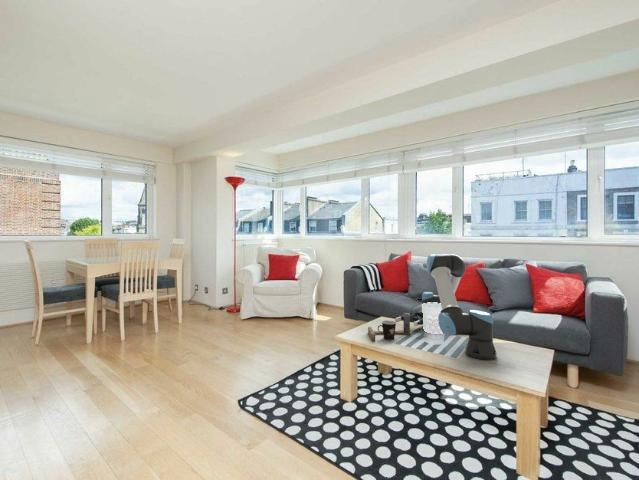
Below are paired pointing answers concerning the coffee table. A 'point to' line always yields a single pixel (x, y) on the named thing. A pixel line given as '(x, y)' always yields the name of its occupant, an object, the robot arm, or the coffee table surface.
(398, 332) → the brown uneven shapes
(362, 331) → the coffee table surface
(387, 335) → the coffee mug
